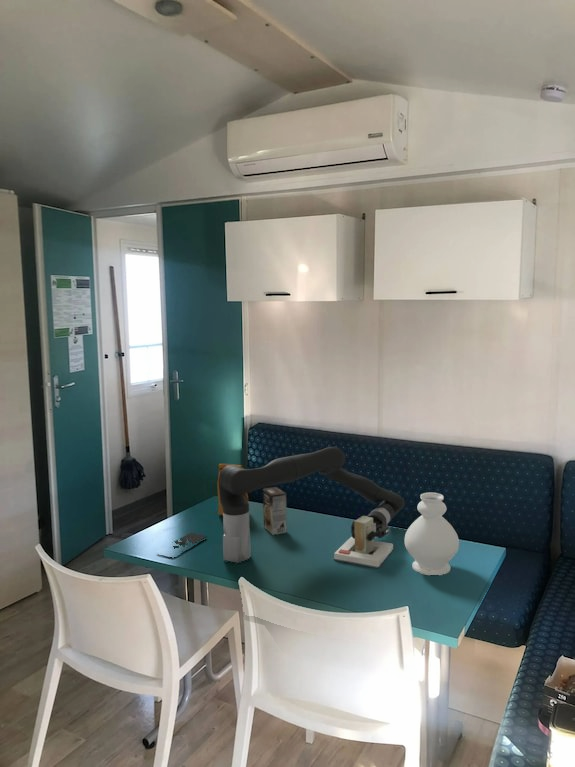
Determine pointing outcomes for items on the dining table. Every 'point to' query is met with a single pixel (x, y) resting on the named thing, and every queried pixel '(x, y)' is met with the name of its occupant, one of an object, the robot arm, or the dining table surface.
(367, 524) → the skincare box
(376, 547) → the socket plate
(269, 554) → the dining table surface
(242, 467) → the coffee package
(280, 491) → the coffee box
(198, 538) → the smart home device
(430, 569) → the decorative vase
